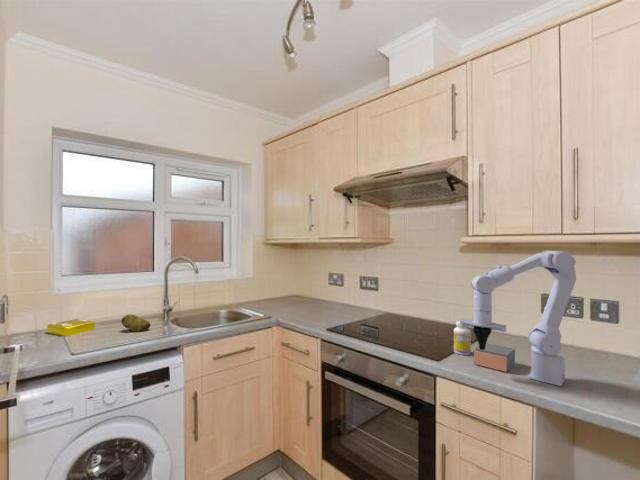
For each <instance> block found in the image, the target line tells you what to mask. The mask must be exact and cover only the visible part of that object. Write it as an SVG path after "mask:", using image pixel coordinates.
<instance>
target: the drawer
mask: <svg viewBox="0 0 640 480" xmlns="http://www.w3.org/2000/svg"><path fill="white" fill-rule="evenodd" d="M473 364H474V365H477V366H481V367H485V368H489V369H492V370H497V371H501V372H505V373H508V372H507V357H502V356H498V355H493V354H489V353H484V352H480V351H475V350H474V351H473Z"/></svg>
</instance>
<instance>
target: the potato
mask: <svg viewBox="0 0 640 480" xmlns="http://www.w3.org/2000/svg"><path fill="white" fill-rule="evenodd" d="M121 324H122V326H123V327H124V328H126V329H128V330H130V331H132V332H143V331H146V330H148V329H149V328H150V327H151V322H150V321H149V320H147V319H145V318H142V317H140V316H138V315H136V314H127V315H125V316H123V317H122V319H121Z"/></svg>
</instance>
